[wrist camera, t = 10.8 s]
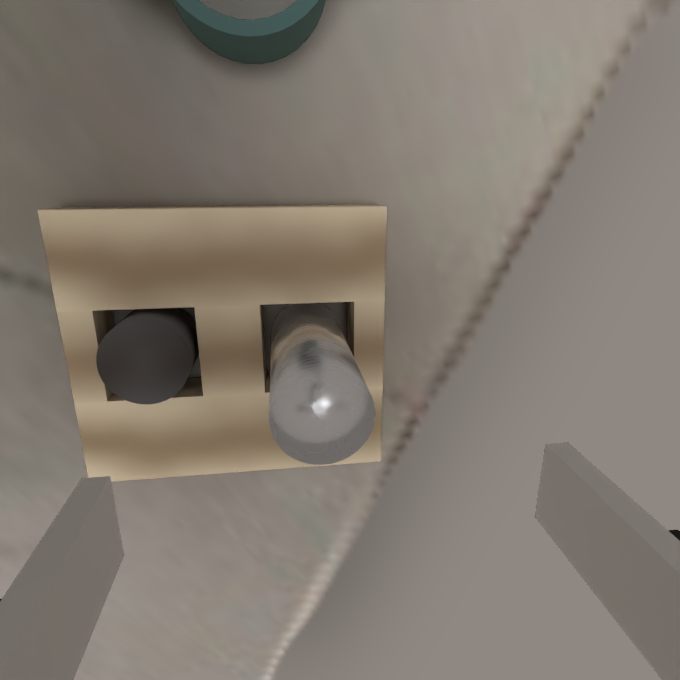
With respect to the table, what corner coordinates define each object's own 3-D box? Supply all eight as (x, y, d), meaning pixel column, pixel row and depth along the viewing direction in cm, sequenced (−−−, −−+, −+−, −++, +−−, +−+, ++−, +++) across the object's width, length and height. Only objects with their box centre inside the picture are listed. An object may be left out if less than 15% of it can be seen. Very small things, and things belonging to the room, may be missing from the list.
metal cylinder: (269, 301, 30) (266, 371, 19) (339, 299, 31) (376, 365, 19) (273, 367, 32) (271, 468, 20) (339, 363, 32) (374, 460, 21)
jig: (62, 207, 27) (23, 211, 23) (376, 204, 29) (392, 207, 25) (106, 456, 32) (80, 497, 28) (372, 438, 34) (385, 473, 30)
